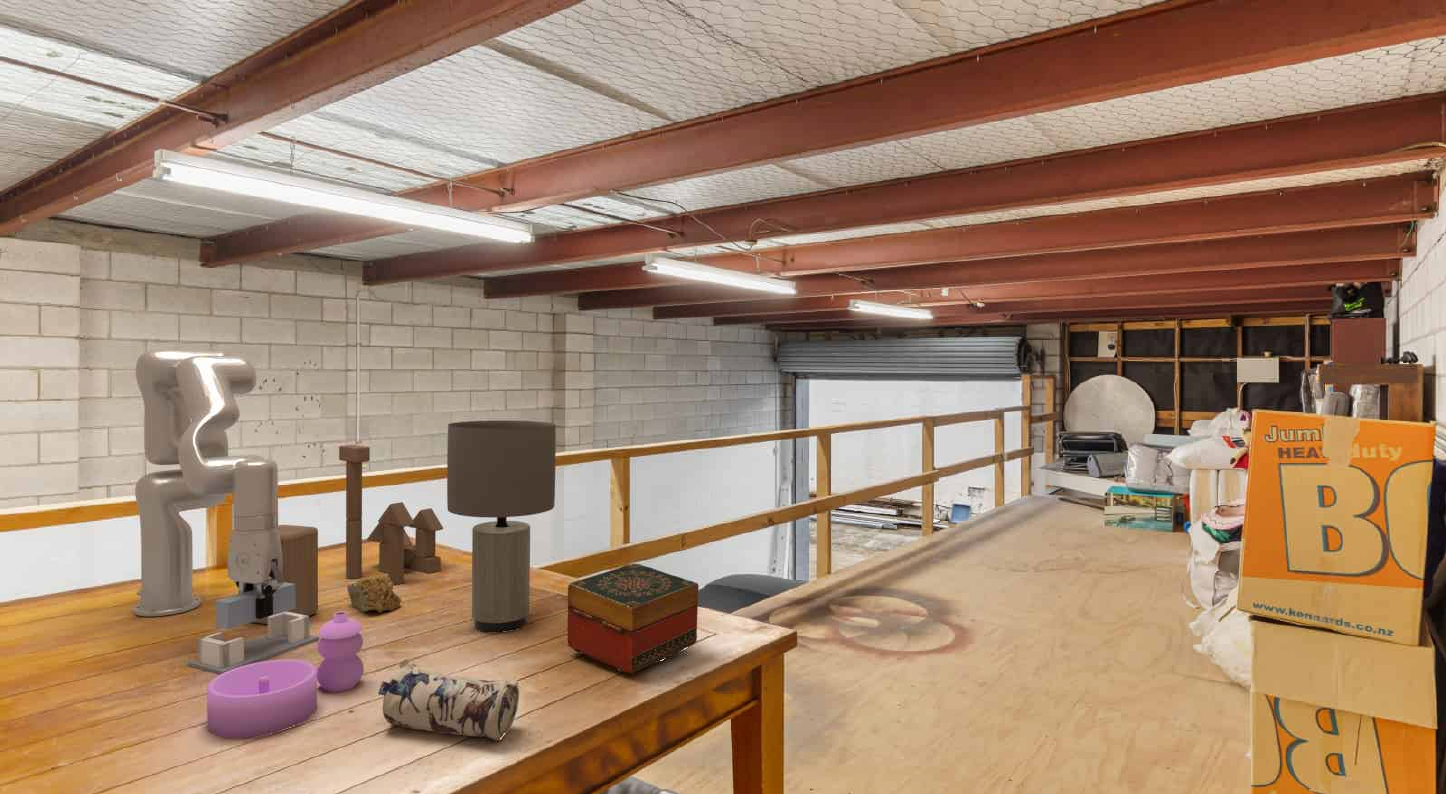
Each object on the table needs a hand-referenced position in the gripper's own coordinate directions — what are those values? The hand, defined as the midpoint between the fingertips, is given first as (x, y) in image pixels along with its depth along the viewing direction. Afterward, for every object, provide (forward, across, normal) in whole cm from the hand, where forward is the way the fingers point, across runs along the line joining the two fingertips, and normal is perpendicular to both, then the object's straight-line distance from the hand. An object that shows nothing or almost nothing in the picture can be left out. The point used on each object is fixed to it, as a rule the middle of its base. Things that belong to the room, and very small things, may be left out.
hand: (257, 614), depth 151 cm
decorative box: (+9, +66, +31) cm, 74 cm away
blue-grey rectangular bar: (0, 0, 0) cm, 0 cm away
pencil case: (+9, +56, -8) cm, 58 cm away
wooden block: (+8, -14, +16) cm, 22 cm away
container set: (+8, +26, -13) cm, 30 cm away
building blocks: (+7, -19, +53) cm, 57 cm away
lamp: (+8, +32, +34) cm, 47 cm away
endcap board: (+8, 0, 0) cm, 8 cm away
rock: (+8, -2, +30) cm, 31 cm away
